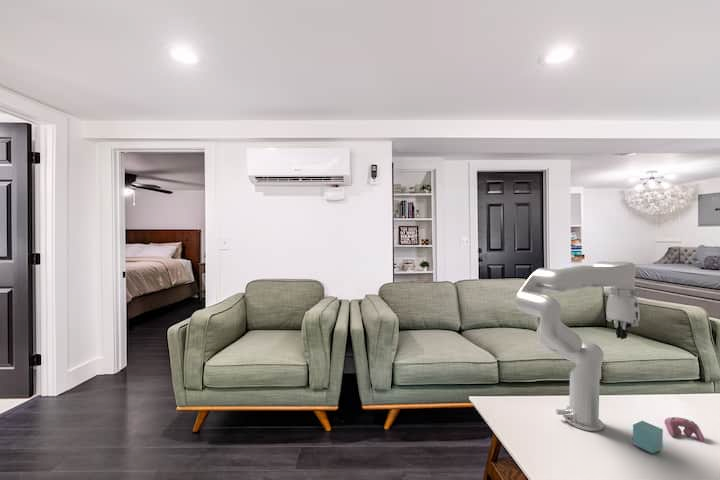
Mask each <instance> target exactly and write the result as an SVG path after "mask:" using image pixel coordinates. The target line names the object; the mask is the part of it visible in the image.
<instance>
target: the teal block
mask: <svg viewBox="0 0 720 480" xmlns="http://www.w3.org/2000/svg"><path fill="white" fill-rule="evenodd" d="M663 435H664V428H661V427H658V426H656V425H654V424H651V423H648V422H647V421H644V420H641V421H638V422H635V423H633V425H632V444H633V445H635V446H636V447H638V446H639V447H641V448H643V449H645V450H647V451H649V452H651V453H652V454H655V453H657V452H659V451H661V450H662V449H663V441H664V440H663V437H664V436H663ZM649 452H648V453H649ZM651 453H650V454H651Z"/></svg>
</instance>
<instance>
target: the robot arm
mask: <svg viewBox="0 0 720 480" xmlns="http://www.w3.org/2000/svg"><path fill="white" fill-rule="evenodd" d="M636 271H637V270H636V265H635V264H634V263H633V262H631V261H630V262H629V261H603V260H602V261H600V260H599V261H597V262H594V264H592V265H575V266H569V267H566V268H565V267H564V268H558V269H557V268H556V269H555V268H545V267H539V268H537V269H536V270H535V271H533V272H532V273H531V274H530V275H529V277H528V278H527V279H526V281H525V282H524V283H523V285H522V286H521V288H520V289H519V290H518V292H517V293H516V296H515V300H514V304H515V307H516V308H517V309H518V310H519V312H522V313H525V314H527V315H531V316H535V317H538V318H539V323H538V324H539V325H538V327H537V328H536V338H537V340H538V342H539V344H540V345H542V346H543V347H545V348H546V349H548V350H549V351H550V352H552V353H553V354H555V355H557V356H558V357H561V358H562V359H566V360H568V361H570V362H572V363H575V366H574V367H573V368H572V369H571V370H570V373H569V397H568V398H569V401H568V403H569V404H568V405H569V406H568V405H567V406H566V408H564V409H560V408H559V409H558V408H557V409H555V413H556V415H558V416H559V415H560V416H561V415H562V418H563V419H565V421H566V422H567V423H568V424H570V425H571V426H572V427H573V426H574V427H575V428H578V429H580V430H584V431H588V432H599V431H602V430H604V422H603V421H602V420H600V419H599V416H600V414H599V413H600V379H601V376H600V375H601V370H602V365H603V361H604V351H603V350H602V348H601V347H600V346H599V345H598V344H597V343H596V344H595V343H594V342H592V341H589V340H586V339H582V338H581V336H580V335H579V334H578V333H577V332H576V331H574V330H573V329H571V328H570V327H569V326H567V325H566V324H564V323H563V322H562V321H561V316H562V307H561V304H560V302H559V300H557V299H556V298H555V297H554V296H551V295H549V294H544V293H542V291H546V292H547V291H548V292H553V293H558V294H559V293H568V292H570V291H571V292H572V291H576V290H581V289H586V288H588V289H589V288H590V289H591V288H605V287H606V288H608V287H610V294H609V295H608V297H607V300H606V301H607V302H606V311H605V313H606V318H605V319H606V320H607V322H610V323H612V325H614V328H615V335H616V338H617V339H621V340H626V339H627V337H628V330H629V329H630V328H631V327H639V326H640V325H639V322H640V319H641V318H640V317H641V316H640V313H641V312H640V306H639V300H638V297H636V296H639V291H636V289H635V287H636V280H635V279H636V273H637V272H636Z"/></svg>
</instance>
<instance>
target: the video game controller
mask: <svg viewBox="0 0 720 480" xmlns="http://www.w3.org/2000/svg"><path fill="white" fill-rule="evenodd" d="M663 422H664V425H665V426H666V430H667V433H668V434H669V435H670V436H671V438H675V436H676V435H681V434H682V432H683V434H684V435H685V436H686V437H691V436H693V434H694V435H695V436H696V437H697V439H698V441H700V442H701V443H704V442H705V437H704V435H703V432H702V430H701V428H700V427H699V425H698V424H697V423H696V422H694V421H693V420H690V419H688V418H684V417H677V416H675V417H674V416H673V417H667V418H665V419H664V421H663ZM680 427H681V428H683V430H681V428H680Z"/></svg>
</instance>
